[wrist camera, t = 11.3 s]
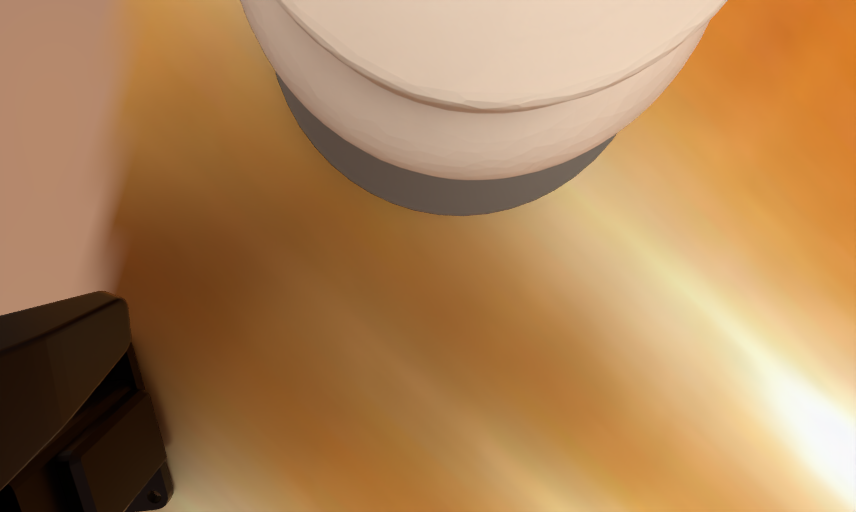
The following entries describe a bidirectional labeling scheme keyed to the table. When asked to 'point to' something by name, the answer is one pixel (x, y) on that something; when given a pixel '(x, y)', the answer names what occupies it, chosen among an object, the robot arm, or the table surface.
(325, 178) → the table surface
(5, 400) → the robot arm
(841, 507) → the table surface
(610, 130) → the supplement bottle
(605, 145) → the slate coaster
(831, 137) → the table surface
